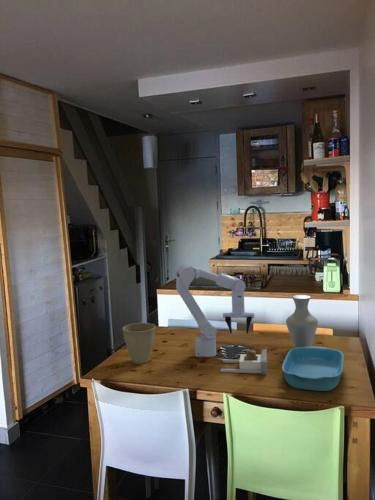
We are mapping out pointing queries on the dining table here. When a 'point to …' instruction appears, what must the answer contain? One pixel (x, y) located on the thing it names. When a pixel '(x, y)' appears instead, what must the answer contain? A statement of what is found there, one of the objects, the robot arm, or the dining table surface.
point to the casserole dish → (313, 368)
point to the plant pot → (139, 341)
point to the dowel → (251, 355)
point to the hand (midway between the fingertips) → (239, 332)
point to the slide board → (238, 369)
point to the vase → (301, 323)
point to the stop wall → (264, 362)
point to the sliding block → (250, 363)
